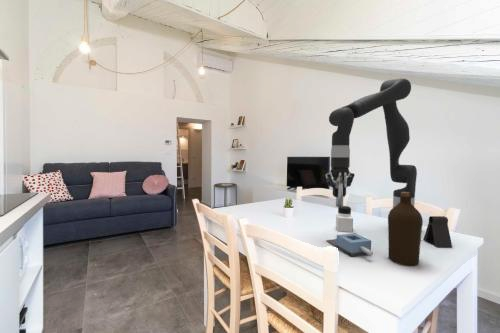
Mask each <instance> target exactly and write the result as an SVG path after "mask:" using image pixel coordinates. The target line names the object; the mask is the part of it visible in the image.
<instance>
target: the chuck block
mask: <svg viewBox="0 0 500 333" xmlns="http://www.w3.org/2000/svg"><path fill="white" fill-rule="evenodd" d="M336 239H337V248H338V249H337V248H336V249H337V250H338V251H340V252H342V253H344V254H345V255H347V256H348V257H350V258H355V257H362V256H373V254H374V251H373V250H372V240H371V239H369V238H367V237H364V236H363V235H361V234H358V233H356V232H355V233H353V232H351V233H345V234H344V233H343V234H336Z"/></svg>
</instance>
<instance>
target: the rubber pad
mask: <svg viewBox="0 0 500 333" xmlns="http://www.w3.org/2000/svg"><path fill="white" fill-rule="evenodd" d="M326 243H328V244H330V245H332V246H333V245H334V247H335V248H336V247H337V238H333V239H326Z"/></svg>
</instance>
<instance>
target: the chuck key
mask: <svg viewBox="0 0 500 333" xmlns="http://www.w3.org/2000/svg"><path fill="white" fill-rule="evenodd" d="M343 182H344V180H343V176H341V177H340V182H339V184H338V197H335V207H337V208H338V207H343V206H344V197H343Z"/></svg>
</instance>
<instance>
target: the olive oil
mask: <svg viewBox="0 0 500 333" xmlns="http://www.w3.org/2000/svg"><path fill="white" fill-rule="evenodd" d="M387 216H388V217H387V232H388V234H387V235H388V236H387V237H388V239H387V240H388V259H389V260H390V261H391V262H393V263H395V264H397V265H398V264H399V265H402V266H407V267H408V266H409V267H415V266H418V265H419V264H420V251H421V242H422V234H423V233H422V232H423V223H424V222H423V221H424V220H423V216H422V214H421V213H420V211H419V210H418V209H417V208H416V207H415V205H414V206H413V205H412V204H411V193H410V192H401V196H400V203H399V204H397V205H396V206H395V207H394V208H393V207H392V208H391V210H390V211H389V212H388V215H387Z"/></svg>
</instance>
